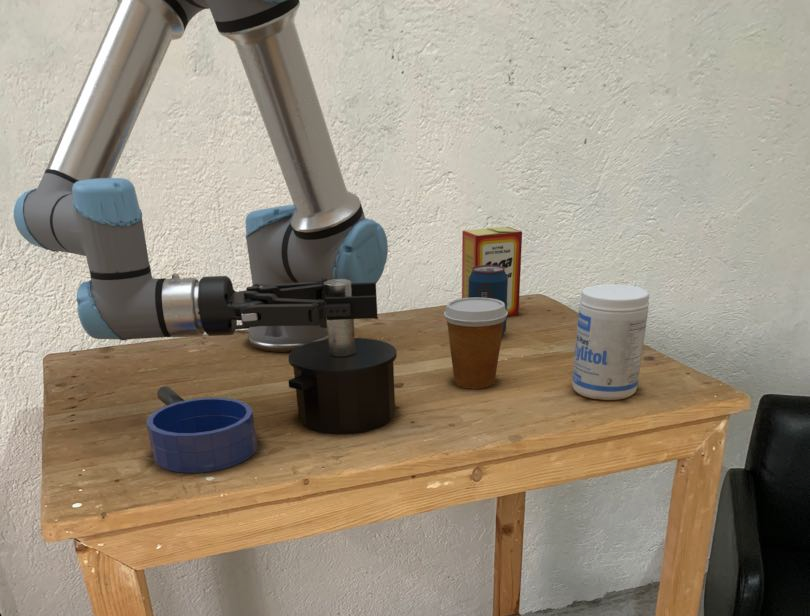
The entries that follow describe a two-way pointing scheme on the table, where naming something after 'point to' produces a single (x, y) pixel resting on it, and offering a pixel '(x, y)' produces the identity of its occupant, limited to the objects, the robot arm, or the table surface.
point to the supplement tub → (609, 341)
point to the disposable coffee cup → (475, 339)
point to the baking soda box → (494, 258)
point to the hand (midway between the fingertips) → (376, 299)
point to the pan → (202, 434)
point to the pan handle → (168, 396)
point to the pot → (345, 400)
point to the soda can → (489, 284)
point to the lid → (341, 345)
